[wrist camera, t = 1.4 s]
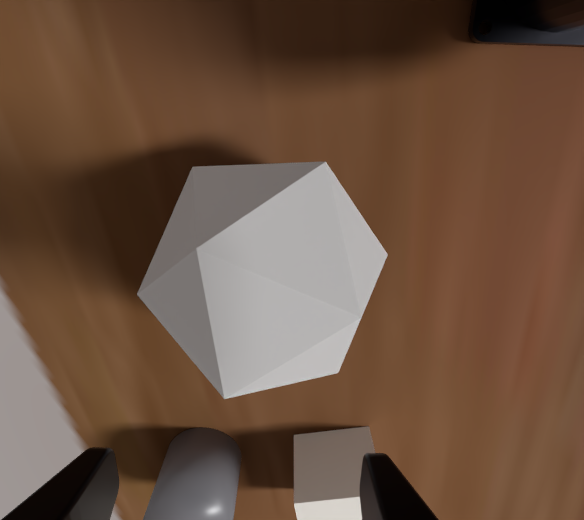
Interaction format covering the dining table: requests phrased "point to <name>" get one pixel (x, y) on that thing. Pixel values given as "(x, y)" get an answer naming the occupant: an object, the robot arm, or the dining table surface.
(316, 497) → the cream block
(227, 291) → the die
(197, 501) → the grey rounded piece
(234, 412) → the dining table surface
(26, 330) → the dining table surface
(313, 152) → the dining table surface
